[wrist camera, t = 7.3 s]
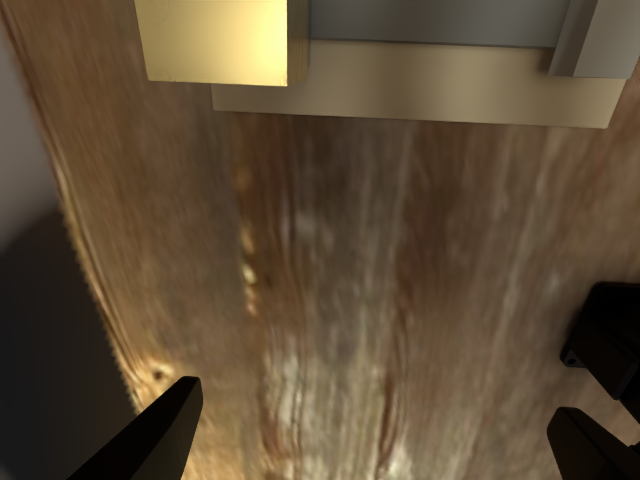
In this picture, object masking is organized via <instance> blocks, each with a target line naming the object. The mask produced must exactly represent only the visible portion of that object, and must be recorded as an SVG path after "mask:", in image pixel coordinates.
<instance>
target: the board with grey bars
mask: <svg viewBox="0 0 640 480" xmlns="http://www.w3.org/2000/svg"><path fill="white" fill-rule="evenodd" d="M639 55H640V0H312V7H311V51H310V66H307V81H304V82H300V83H297V84H294V85H290V86H266V85H243V84H221V83H211V90H212V100H213V110H214V111H235V112H257V113H278V114H300V115H322V116H344V117H366V118H388V119H410V120H432V121H454V122H476V123H498V124H520V125H542V126H564V127H586V128H607V126H608V124H609V121H610V119H611V116H612V114H613V112H614V109H615V107H616V104H617V102H618V99H619V97H620V94H621V92H622V89H623V87H624V84H625V82H626V79H630V78H631V75H632V73H633V70H634V68H635V65H636V63H637V60H638V58H639Z"/></svg>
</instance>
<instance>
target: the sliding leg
mask: <svg viewBox="0 0 640 480" xmlns="http://www.w3.org/2000/svg"><path fill="white" fill-rule="evenodd" d="M134 1H135V6H136V12H137V18H138V24H139V30H140V35H141V41H142V47H143V53H144V59H145V64H146V70H147V76H148V80H152V81H175V82H198V83H221V84H243V85H266V86H290V85H294V84H297V83H300V82H304V81H307V66H310V51H311V7H312V0H134Z"/></svg>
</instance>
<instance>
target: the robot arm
mask: <svg viewBox="0 0 640 480" xmlns="http://www.w3.org/2000/svg"><path fill="white" fill-rule="evenodd" d="M605 290H606V291H605ZM604 291H605V292H604ZM560 359H561V361H562V362H563V364H564V365H565V366H567V367H578V368H587V369H588V370H589V371H590V373H591V374H592V375H593V376H594V377H595V378H596V380H597V381H598V382H599V383H600V384H601V386H602V387H603V388H604V389H605V390H606V391H607V393H608V394H609V395H610V396H611V397H612V398H613V399H614V400H619V401H620V402H621V403H622V404H623V406H624V407H625V408H626V409H627V410H628V411H629V413H630V414H631V415H632V416H633V417H634V418H635V420H636V421H637V422H638V423H639V424H640V284H623V283H600V284H598V285H597V286H595V288H594V289H593V291H592V293H591V295H590V297H589V299H588V301H587V303H586V305H585V307H584V309H583V311H582V314H581V316H580V318H579V320H578V322H577V324H576V326H575V328H574V330H573V332H572V334H571V336H570V338H569V340H568V342H567V344H566V346H565V348H564V351H563V353H562V355H561V357H560ZM202 407H203V393H202V387H201V381H200V378H199V377H193V376H183V377H181V378H180V379H179V380H178V381H177V382H176V383H174V384H173V385H172V386H171V387H170V388H169V389H168V390H166V391H165V392H164V393H163V394H162V395H161V396H160V397H159V398H157V399H156V400H155V401H154V402H153V403H152V404H151V405H150V406H148V407H147V408H146V409H145V410H144V411H143V412H142V413H140V414H139V415H138V416H137V417H136V418H135V419H134V420H133V421H131V422H130V423H129V424H128V425H127V426H126V427H125V428H124V429H122V430H121V431H120V432H119V433H118V434H117V435H116V436H114V438H112V439H111V440H110V441H109V442H108V443H107V444H105V445H104V446H103V447H102V448H101V449H100V450H99V451H97V452H96V453H95V454H94V455H93V456H92V457H91V458H90V459H89V460H87V461H86V462H85V463H84V464H83V465H82V466H81V467H79V468H78V469H77V470H76V471H75V472H74V473H73V474H71V475H70V476H69V477H68V478H67V479H66V480H181V477H182V475H183V472H184V468H185V465H186V462H187V459H188V455H189V452H190V448H191V445H192V441H193V438H194V435H195V431H196V428H197V424H198V421H199V417H200V414H201V411H202ZM547 437H548V440H549V443H550V445H551V448H552V451H553V454H554V457H555V460H556V462H557V465H558V468H559V471H560V474H561V476H562V479H563V480H640V441H639V442H638V443H637V444H635V445H630V446H629V447H628V446H626V445H625V444H624V443H623V442H621V441H620V440H619V439H617V438H616V437H615V436H614V435H612V434H611V433H610V432H608V431H607V430H606V429H605V428H603V427H602V426H601V425H600V424H598V423H597V422H596V421H594V420H593V419H592V418H591V417H589V416H588V415H587V414H585V413H584V412H583V411H581V410H580V409H578V408H574V407H559V408H558V409H557V410H556V412H555V413H554V415H553V417H552V419H551V421H550V423H549V424H548V426H547Z"/></svg>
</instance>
